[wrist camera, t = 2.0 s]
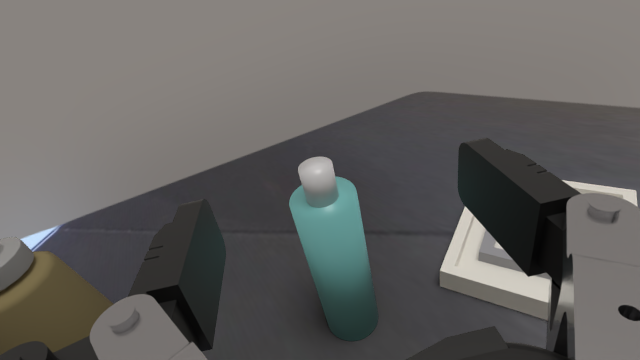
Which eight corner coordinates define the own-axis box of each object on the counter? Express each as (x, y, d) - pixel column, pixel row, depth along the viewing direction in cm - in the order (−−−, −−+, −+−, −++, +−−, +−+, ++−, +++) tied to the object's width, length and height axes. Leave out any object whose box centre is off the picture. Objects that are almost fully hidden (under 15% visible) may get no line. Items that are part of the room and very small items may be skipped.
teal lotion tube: (342, 288, 35) (304, 143, 25) (386, 304, 32) (363, 151, 23) (317, 328, 32) (265, 181, 22) (364, 349, 29) (328, 195, 20)
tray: (478, 183, 43) (480, 168, 41) (628, 207, 35) (635, 190, 34) (439, 286, 33) (439, 270, 31) (639, 349, 25) (649, 332, 24)
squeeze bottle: (30, 415, 30) (-181, 283, 20) (78, 329, 37) (-62, 196, 27) (119, 402, 30) (-51, 258, 19) (151, 316, 36) (37, 175, 26)
